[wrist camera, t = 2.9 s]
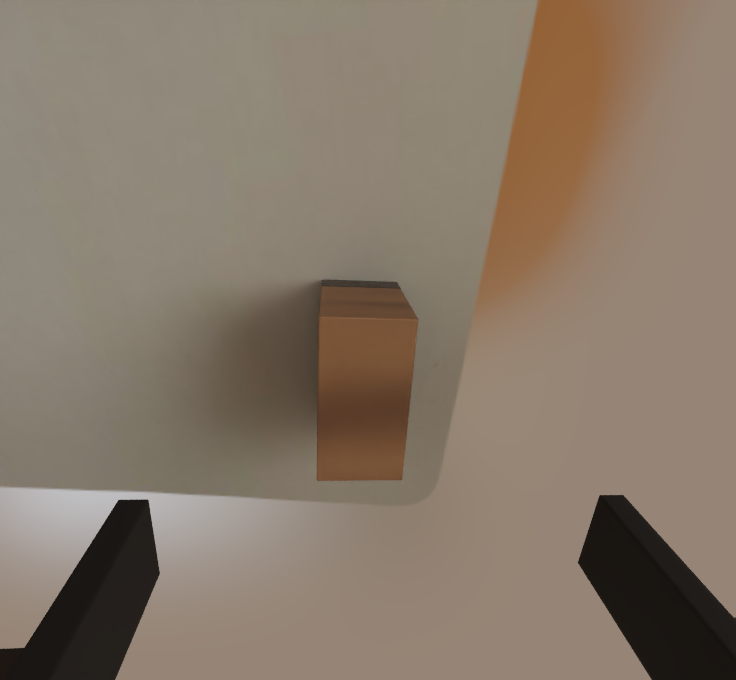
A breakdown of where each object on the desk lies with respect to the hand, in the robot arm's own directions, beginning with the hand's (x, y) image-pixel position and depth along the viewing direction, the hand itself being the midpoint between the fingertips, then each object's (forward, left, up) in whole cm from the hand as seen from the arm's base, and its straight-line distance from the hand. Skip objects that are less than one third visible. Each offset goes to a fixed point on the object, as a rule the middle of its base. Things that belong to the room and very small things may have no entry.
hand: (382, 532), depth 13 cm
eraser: (0, +1, -16) cm, 16 cm away
